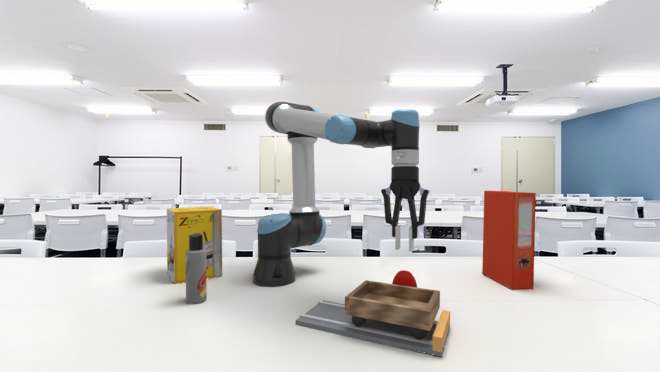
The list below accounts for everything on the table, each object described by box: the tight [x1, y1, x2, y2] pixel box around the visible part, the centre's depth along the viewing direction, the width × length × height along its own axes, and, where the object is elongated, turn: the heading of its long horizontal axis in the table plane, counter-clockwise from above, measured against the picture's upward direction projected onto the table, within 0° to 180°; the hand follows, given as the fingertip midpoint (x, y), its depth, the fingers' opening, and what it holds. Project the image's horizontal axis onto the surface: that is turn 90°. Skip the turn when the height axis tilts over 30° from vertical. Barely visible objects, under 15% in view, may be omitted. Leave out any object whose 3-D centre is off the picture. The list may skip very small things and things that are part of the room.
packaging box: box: [166, 206, 223, 285], centre depth 126 cm, size 16×16×25 cm
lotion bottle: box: [185, 233, 208, 305], centre depth 99 cm, size 6×6×20 cm
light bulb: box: [391, 270, 418, 288], centre depth 94 cm, size 9×7×10 cm
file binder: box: [481, 190, 537, 291], centre depth 118 cm, size 8×17×32 cm, turn 5°
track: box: [295, 299, 451, 357], centre depth 82 cm, size 35×15×4 cm, turn 64°
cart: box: [344, 279, 441, 340], centre depth 80 cm, size 19×14×7 cm
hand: (404, 249), depth 94 cm, fingers open, 3 cm apart
